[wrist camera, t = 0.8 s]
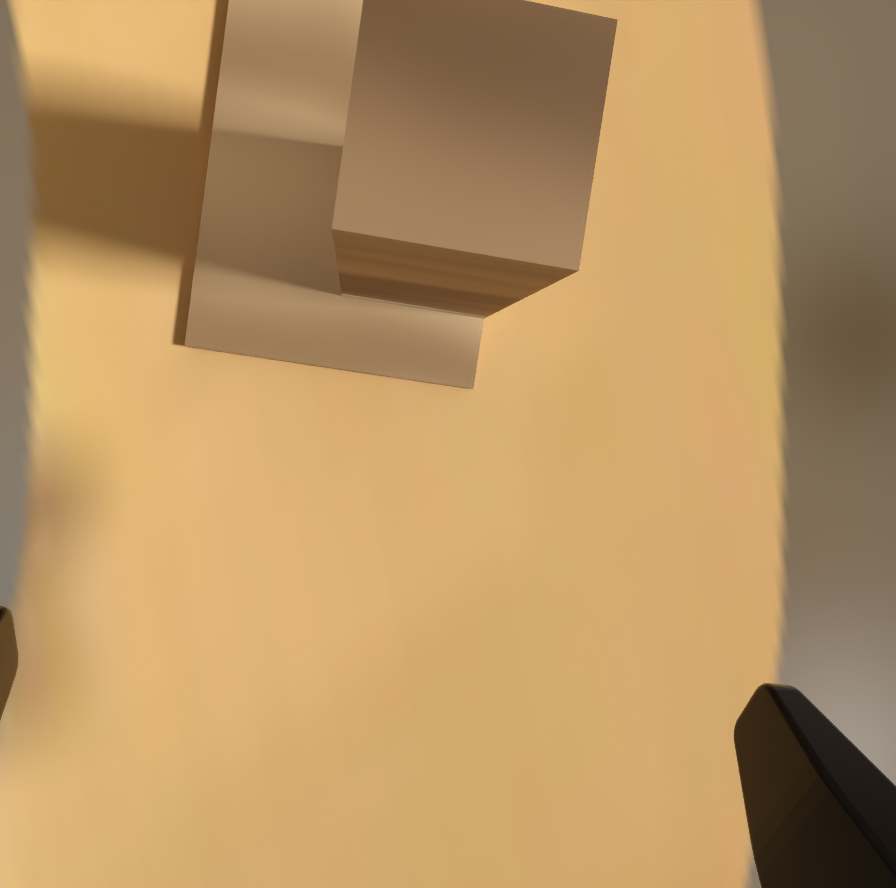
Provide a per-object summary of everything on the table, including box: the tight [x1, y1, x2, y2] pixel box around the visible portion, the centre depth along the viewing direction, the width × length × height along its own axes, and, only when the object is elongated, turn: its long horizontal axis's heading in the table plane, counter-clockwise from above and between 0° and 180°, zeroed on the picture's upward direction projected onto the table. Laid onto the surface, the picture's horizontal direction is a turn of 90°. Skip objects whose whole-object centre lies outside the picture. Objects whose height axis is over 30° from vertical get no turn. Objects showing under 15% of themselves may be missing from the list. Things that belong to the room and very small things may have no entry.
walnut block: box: [332, 0, 617, 318], centre depth 18 cm, size 4×4×10 cm
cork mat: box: [184, 0, 531, 389], centre depth 23 cm, size 14×8×1 cm, turn 172°
